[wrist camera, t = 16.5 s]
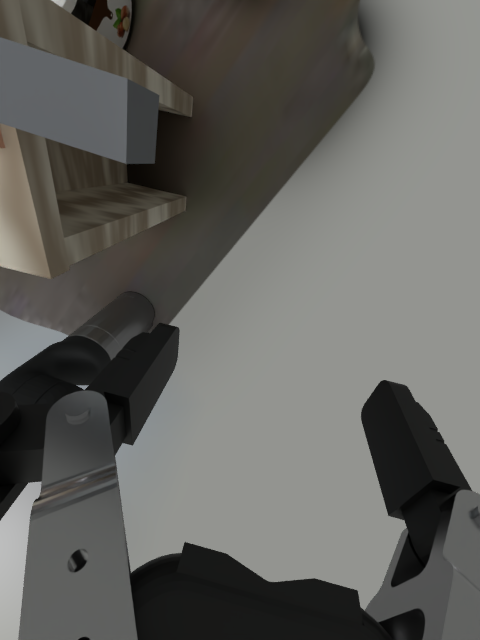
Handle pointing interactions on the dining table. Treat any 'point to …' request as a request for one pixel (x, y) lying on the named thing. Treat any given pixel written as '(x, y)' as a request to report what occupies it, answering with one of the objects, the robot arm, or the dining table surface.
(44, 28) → the wooden open box
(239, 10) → the dining table surface
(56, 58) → the bar
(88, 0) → the spread jar
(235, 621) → the robot arm
